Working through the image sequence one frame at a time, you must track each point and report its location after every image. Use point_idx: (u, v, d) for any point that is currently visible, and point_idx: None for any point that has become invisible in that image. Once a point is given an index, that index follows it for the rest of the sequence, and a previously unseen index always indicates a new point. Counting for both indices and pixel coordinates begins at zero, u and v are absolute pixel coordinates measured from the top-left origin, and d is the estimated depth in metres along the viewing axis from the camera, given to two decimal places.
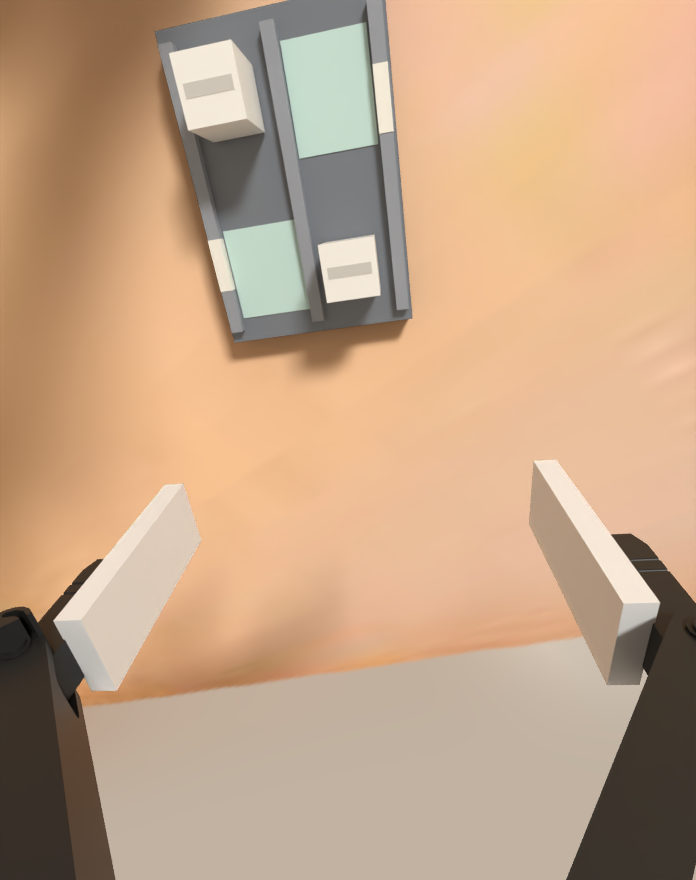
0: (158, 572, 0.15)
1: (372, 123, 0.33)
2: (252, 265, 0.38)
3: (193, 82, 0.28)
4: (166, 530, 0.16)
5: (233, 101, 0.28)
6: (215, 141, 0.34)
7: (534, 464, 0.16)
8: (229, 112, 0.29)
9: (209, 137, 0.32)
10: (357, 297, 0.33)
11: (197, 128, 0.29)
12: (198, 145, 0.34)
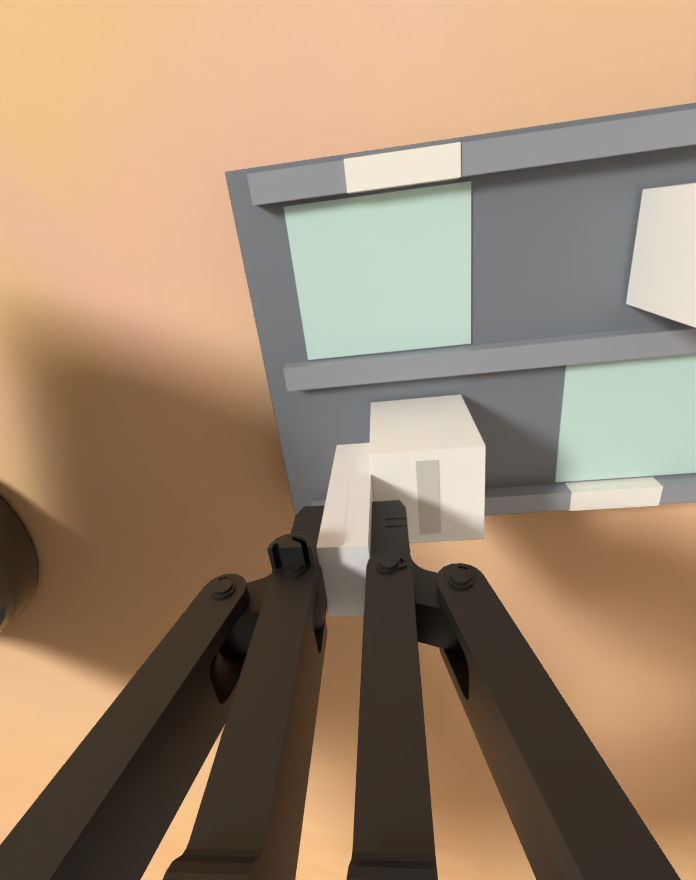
0: None
1: (433, 195, 0.17)
2: (623, 443, 0.21)
3: (420, 519, 0.17)
4: None
5: (455, 463, 0.16)
6: None
7: (354, 446, 0.18)
8: (470, 472, 0.16)
9: None
10: None
11: (482, 524, 0.17)
12: None
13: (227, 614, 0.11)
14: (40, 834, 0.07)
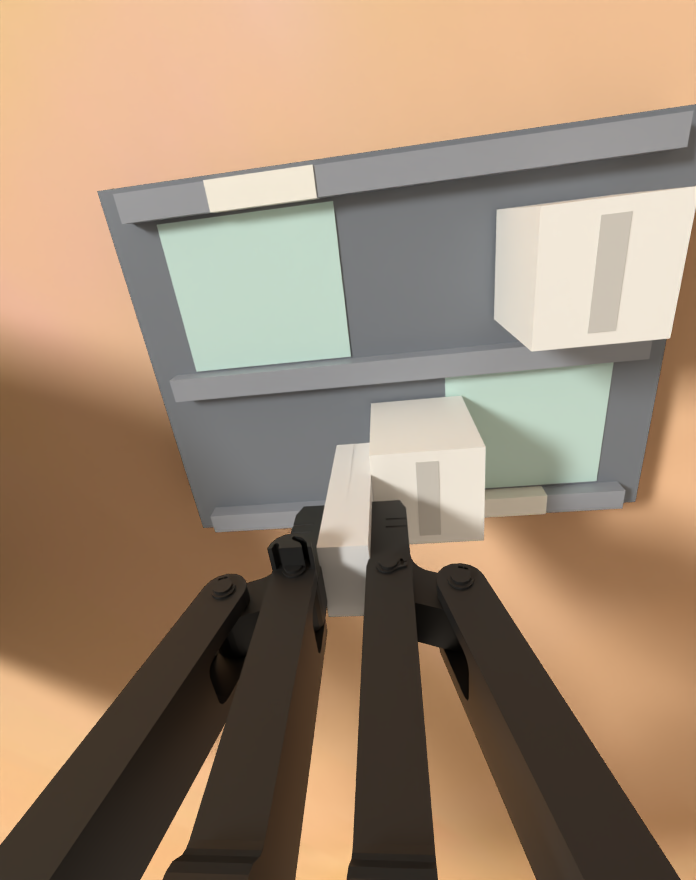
0: None
1: (299, 214, 0.17)
2: (509, 453, 0.21)
3: (420, 520, 0.17)
4: None
5: (455, 464, 0.16)
6: None
7: (354, 446, 0.18)
8: (470, 474, 0.16)
9: None
10: (682, 255, 0.12)
11: (482, 525, 0.17)
12: None
13: (227, 614, 0.11)
14: (39, 835, 0.07)
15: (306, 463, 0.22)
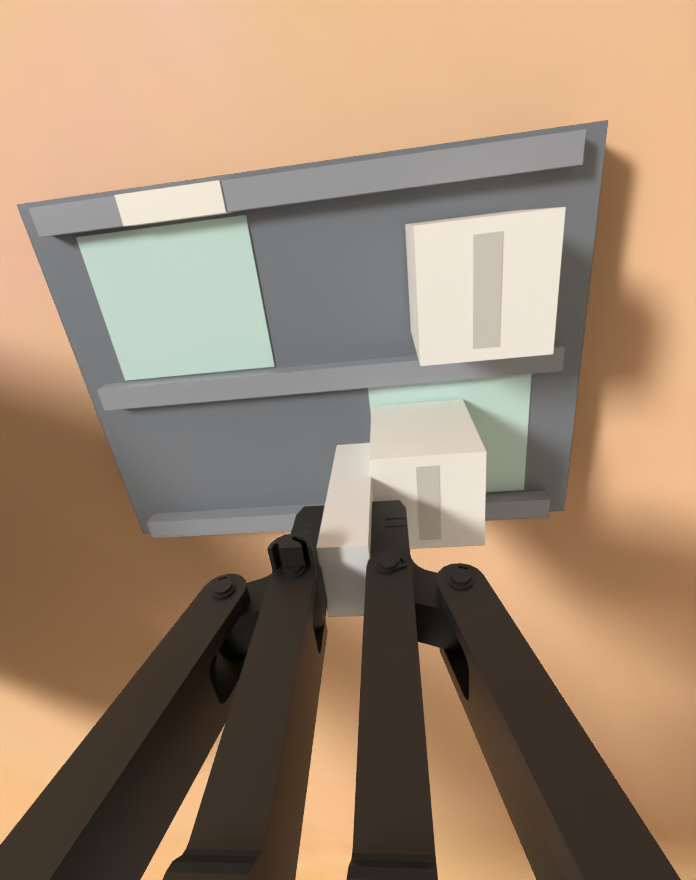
0: None
1: (214, 227, 0.17)
2: None
3: (420, 525, 0.17)
4: None
5: (455, 469, 0.16)
6: None
7: (354, 446, 0.18)
8: (471, 478, 0.16)
9: None
10: (556, 274, 0.13)
11: (483, 530, 0.17)
12: (261, 511, 0.23)
13: (227, 614, 0.11)
14: (40, 834, 0.07)
15: (238, 471, 0.22)
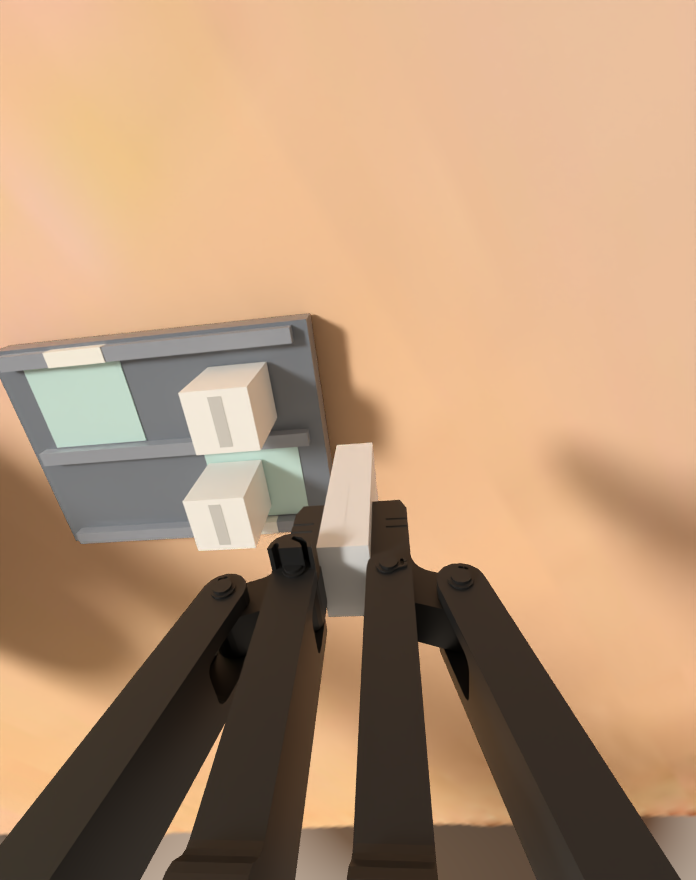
0: None
1: (102, 366, 0.30)
2: None
3: (218, 536, 0.30)
4: None
5: (229, 506, 0.29)
6: (270, 504, 0.34)
7: (354, 446, 0.18)
8: (239, 511, 0.29)
9: (265, 516, 0.33)
10: (251, 414, 0.26)
11: (254, 539, 0.30)
12: (149, 526, 0.36)
13: (227, 614, 0.11)
14: (39, 835, 0.07)
15: (133, 501, 0.35)
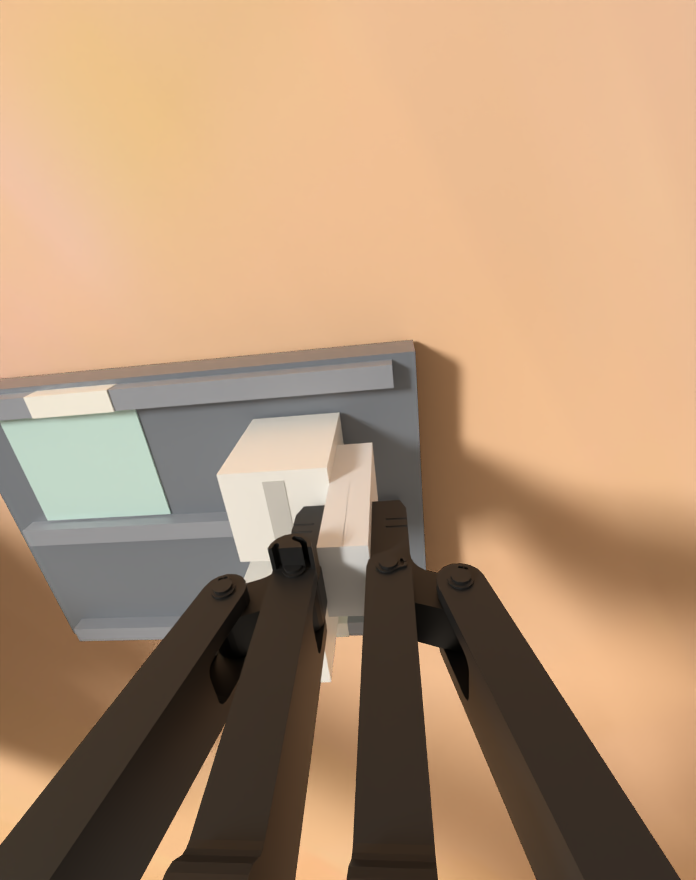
0: None
1: (109, 414, 0.21)
2: None
3: None
4: None
5: None
6: None
7: (354, 446, 0.18)
8: None
9: (336, 622, 0.23)
10: None
11: (329, 671, 0.20)
12: (171, 621, 0.27)
13: (227, 614, 0.11)
14: (39, 835, 0.07)
15: (150, 589, 0.26)
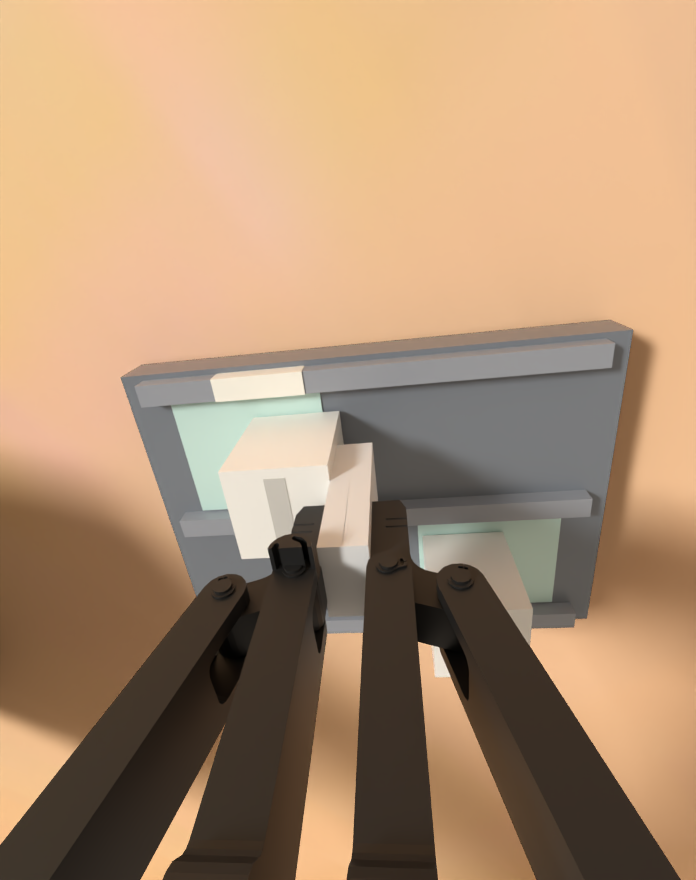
0: None
1: (291, 398, 0.20)
2: None
3: None
4: None
5: None
6: None
7: (354, 446, 0.18)
8: (518, 628, 0.19)
9: None
10: None
11: None
12: None
13: (227, 614, 0.11)
14: (40, 834, 0.07)
15: None
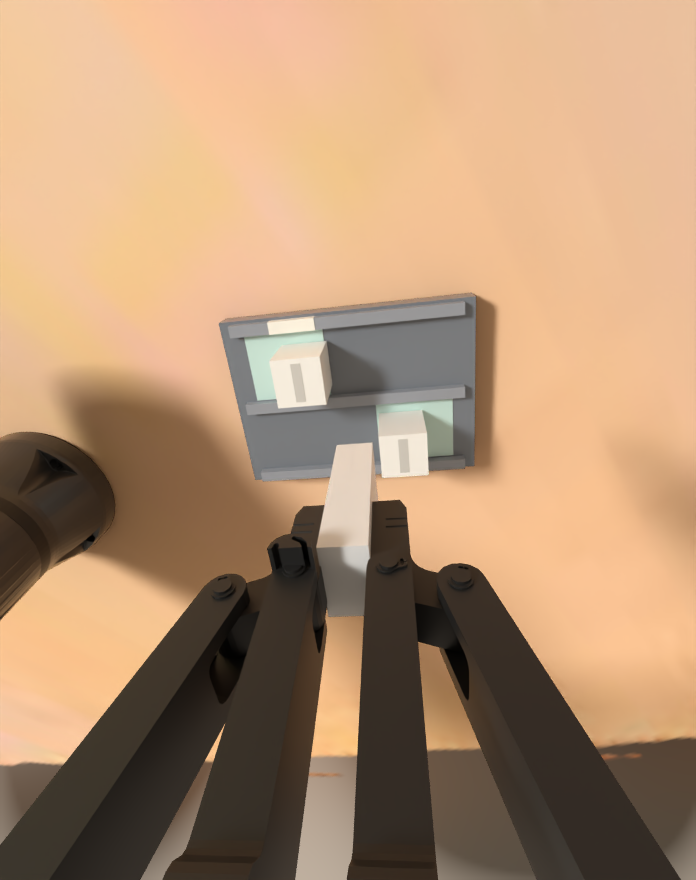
0: None
1: (307, 333, 0.39)
2: None
3: (400, 465, 0.38)
4: None
5: (414, 440, 0.37)
6: None
7: (354, 446, 0.18)
8: (421, 444, 0.37)
9: None
10: (321, 377, 0.35)
11: None
12: (320, 466, 0.45)
13: (227, 614, 0.11)
14: (39, 835, 0.07)
15: (309, 446, 0.44)
